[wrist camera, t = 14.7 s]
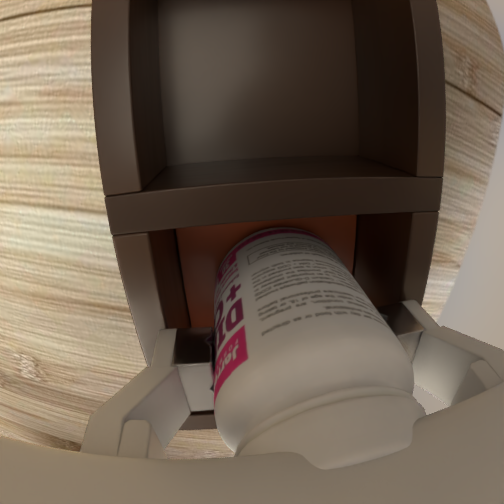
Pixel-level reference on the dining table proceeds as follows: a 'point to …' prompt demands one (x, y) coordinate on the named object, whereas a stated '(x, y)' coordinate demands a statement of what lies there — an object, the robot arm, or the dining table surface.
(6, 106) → the dining table surface
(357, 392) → the pill bottle
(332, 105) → the holder
